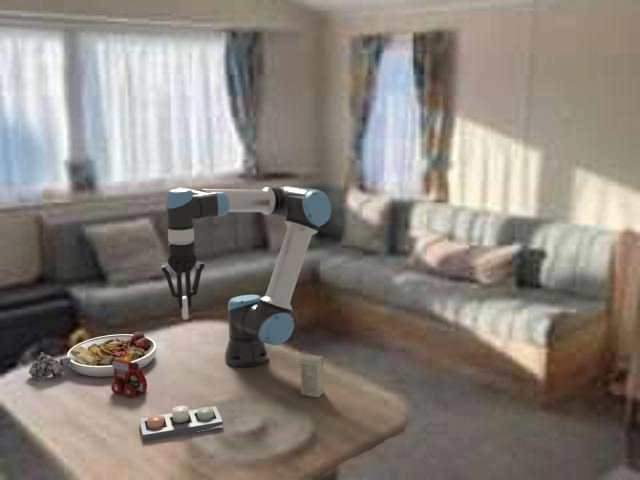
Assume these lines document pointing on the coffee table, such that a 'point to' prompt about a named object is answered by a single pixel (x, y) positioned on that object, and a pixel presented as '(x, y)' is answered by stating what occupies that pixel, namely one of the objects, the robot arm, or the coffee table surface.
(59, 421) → the coffee table surface
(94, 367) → the bowl
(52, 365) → the mineral specimen
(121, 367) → the toy fire truck
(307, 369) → the skincare box
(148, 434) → the frame
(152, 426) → the button terracotta
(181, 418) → the button cream
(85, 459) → the coffee table surface
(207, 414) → the button sage
